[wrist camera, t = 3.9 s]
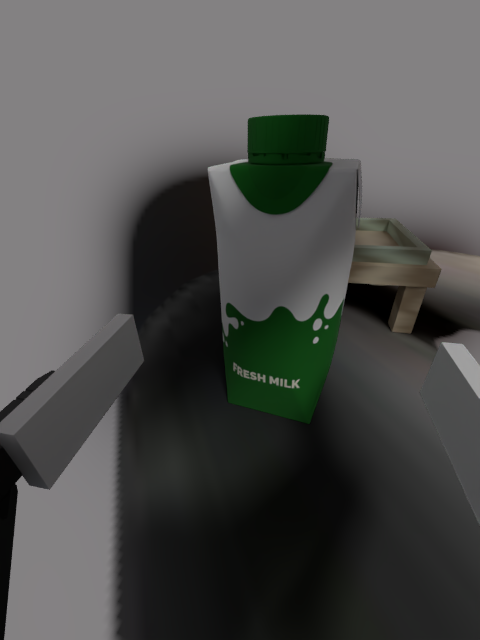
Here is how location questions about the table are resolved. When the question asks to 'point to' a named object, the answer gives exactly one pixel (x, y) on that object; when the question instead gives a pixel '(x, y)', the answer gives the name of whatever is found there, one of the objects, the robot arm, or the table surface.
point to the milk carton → (283, 262)
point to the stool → (394, 266)
